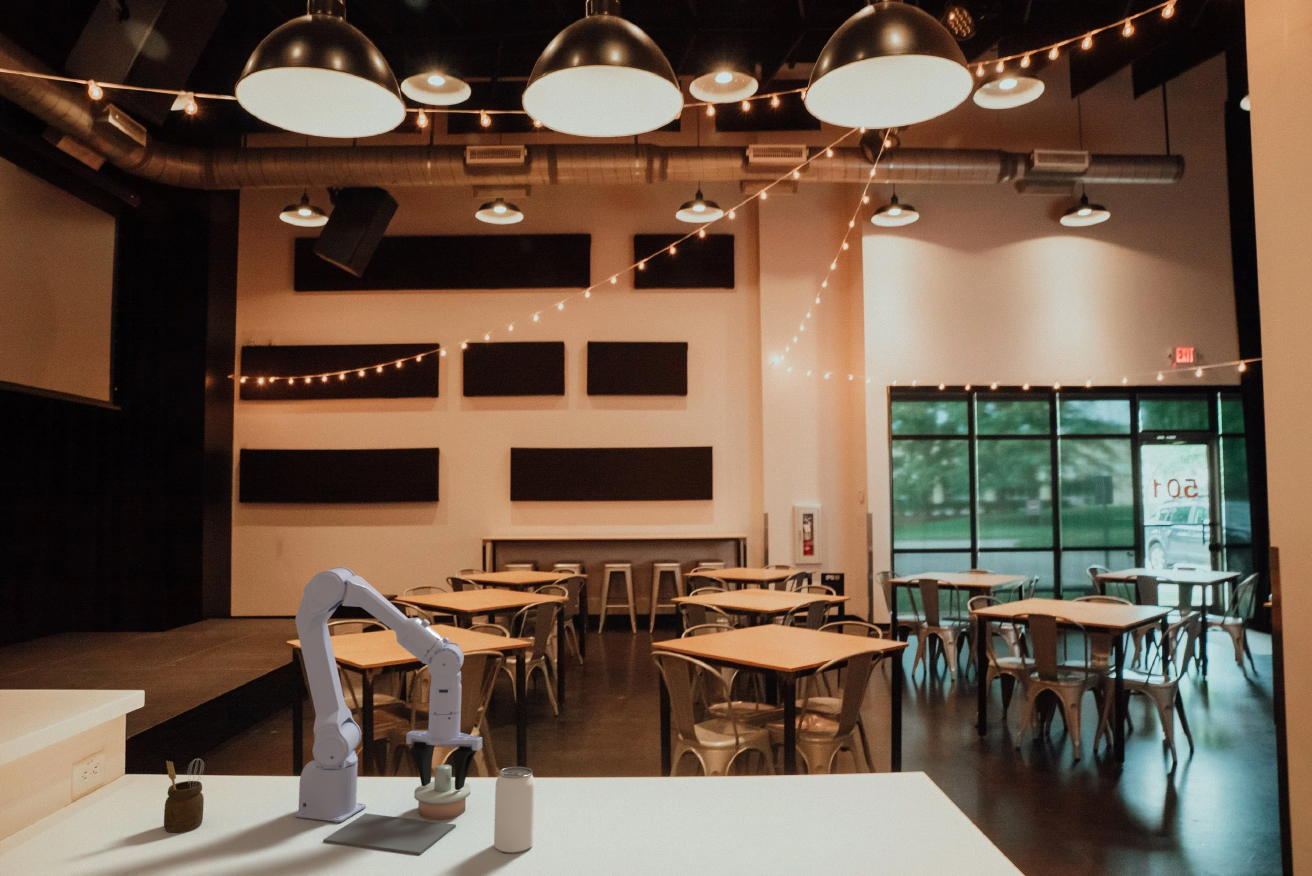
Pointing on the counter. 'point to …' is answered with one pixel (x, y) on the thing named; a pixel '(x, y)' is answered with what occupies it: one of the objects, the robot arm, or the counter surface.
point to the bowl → (441, 810)
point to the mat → (391, 833)
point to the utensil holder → (183, 804)
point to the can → (514, 810)
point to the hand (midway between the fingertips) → (442, 786)
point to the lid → (441, 788)
